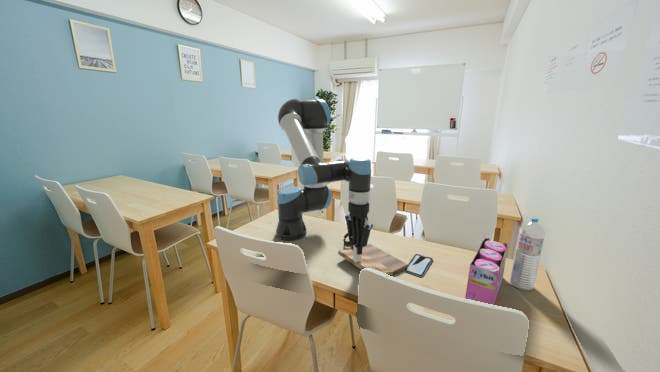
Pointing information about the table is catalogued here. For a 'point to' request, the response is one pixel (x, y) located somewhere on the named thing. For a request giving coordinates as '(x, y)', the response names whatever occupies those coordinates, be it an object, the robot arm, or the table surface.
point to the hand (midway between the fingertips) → (357, 260)
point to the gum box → (486, 272)
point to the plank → (365, 262)
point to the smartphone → (418, 265)
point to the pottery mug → (347, 243)
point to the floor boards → (384, 258)
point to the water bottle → (527, 255)
